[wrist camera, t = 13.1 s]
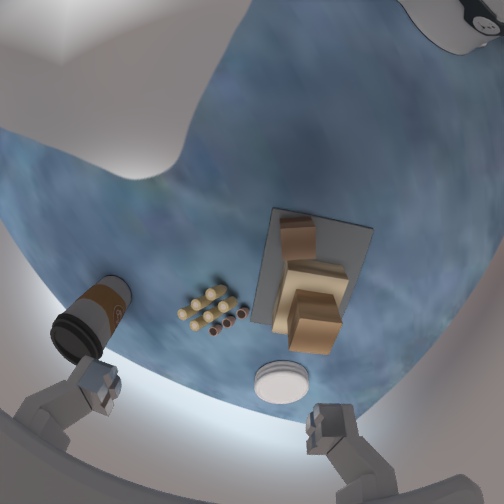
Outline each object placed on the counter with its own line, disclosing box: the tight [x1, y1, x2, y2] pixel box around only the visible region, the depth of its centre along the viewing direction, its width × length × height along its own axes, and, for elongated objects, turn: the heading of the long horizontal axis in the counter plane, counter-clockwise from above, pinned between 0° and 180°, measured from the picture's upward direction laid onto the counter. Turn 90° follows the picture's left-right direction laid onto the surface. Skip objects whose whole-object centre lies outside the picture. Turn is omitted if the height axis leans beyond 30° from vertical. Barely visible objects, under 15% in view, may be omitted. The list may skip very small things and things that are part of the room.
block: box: [279, 217, 316, 261], centre depth 33 cm, size 4×4×4 cm
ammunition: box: [178, 285, 249, 336], centre depth 39 cm, size 5×7×8 cm
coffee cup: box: [50, 276, 131, 366], centre depth 35 cm, size 8×8×15 cm
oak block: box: [287, 289, 343, 355], centre depth 32 cm, size 5×5×6 cm
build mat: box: [250, 208, 374, 325], centre depth 38 cm, size 18×14×1 cm
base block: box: [272, 259, 349, 334], centre depth 37 cm, size 10×8×4 cm
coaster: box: [254, 361, 309, 404], centre depth 46 cm, size 10×10×4 cm
